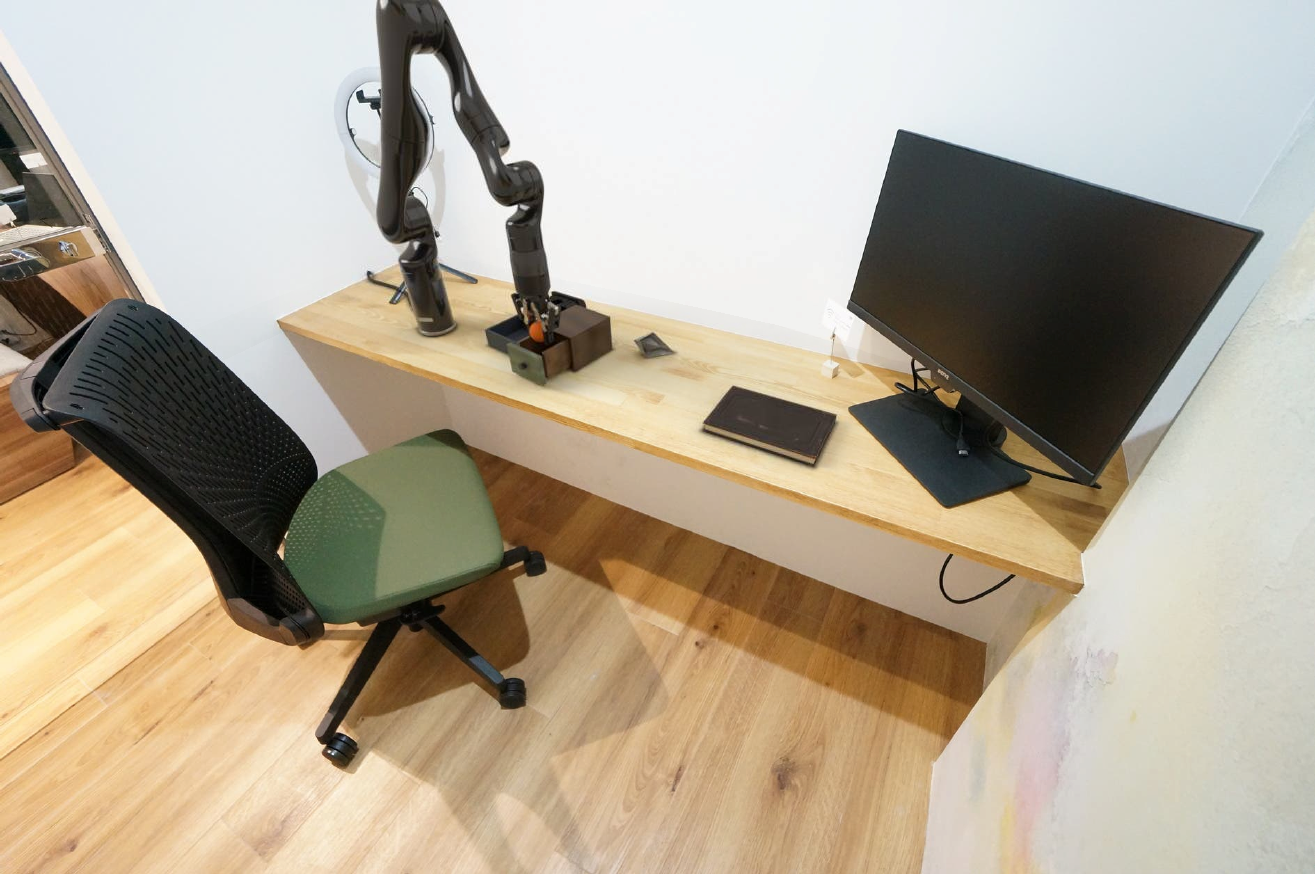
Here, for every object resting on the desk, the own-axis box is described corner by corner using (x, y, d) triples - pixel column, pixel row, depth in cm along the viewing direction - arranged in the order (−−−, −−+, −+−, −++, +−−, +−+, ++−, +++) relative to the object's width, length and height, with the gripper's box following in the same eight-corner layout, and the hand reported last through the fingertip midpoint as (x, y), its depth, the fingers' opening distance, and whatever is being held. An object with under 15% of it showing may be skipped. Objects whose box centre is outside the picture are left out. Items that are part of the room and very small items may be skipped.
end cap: (588, 318, 148) (585, 295, 144) (570, 328, 144) (568, 305, 140) (561, 310, 153) (558, 287, 149) (544, 319, 148) (540, 296, 144)
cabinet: (574, 372, 126) (570, 338, 121) (541, 357, 132) (535, 324, 126) (612, 349, 135) (610, 316, 129) (579, 336, 140) (575, 304, 135)
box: (488, 345, 137) (484, 329, 134) (522, 328, 144) (520, 313, 141) (524, 361, 130) (520, 345, 127) (558, 343, 137) (556, 327, 135)
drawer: (538, 388, 119) (533, 360, 115) (508, 373, 124) (502, 346, 120) (580, 363, 128) (577, 336, 123) (550, 350, 133) (546, 323, 128)
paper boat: (662, 336, 137) (686, 340, 131) (656, 361, 138) (680, 365, 131) (626, 324, 129) (651, 327, 122) (620, 350, 130) (644, 354, 123)
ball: (527, 342, 121) (523, 322, 118) (542, 334, 124) (539, 315, 121) (541, 348, 119) (538, 328, 116) (556, 339, 122) (554, 320, 119)
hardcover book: (813, 467, 99) (815, 457, 98) (702, 431, 108) (702, 422, 107) (835, 421, 110) (837, 413, 109) (732, 392, 119) (733, 383, 118)
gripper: (493, 266, 112) (508, 338, 123) (540, 281, 105) (551, 357, 116) (520, 255, 117) (533, 326, 128) (566, 270, 110) (575, 343, 121)
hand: (541, 340), depth 122 cm, fingers closed on ball, 4 cm apart
